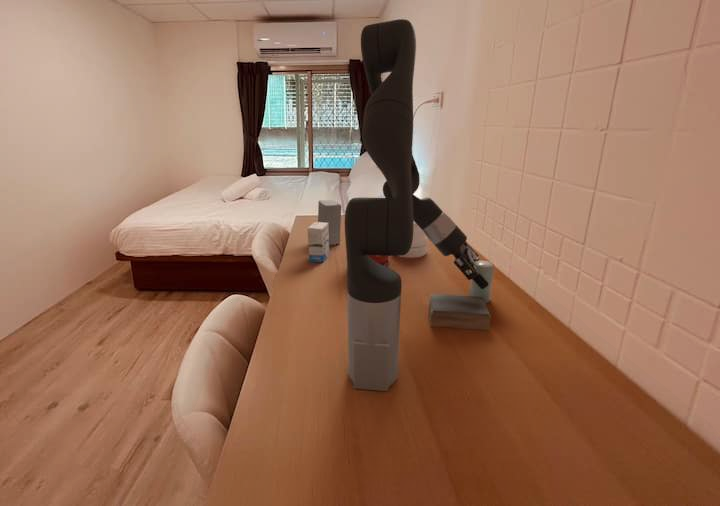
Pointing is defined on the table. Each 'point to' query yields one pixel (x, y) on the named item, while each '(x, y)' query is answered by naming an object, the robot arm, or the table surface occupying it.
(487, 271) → the ceramic tumbler
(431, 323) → the dark grey slab
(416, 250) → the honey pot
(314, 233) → the ink box
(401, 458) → the table surface
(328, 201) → the skincare box
